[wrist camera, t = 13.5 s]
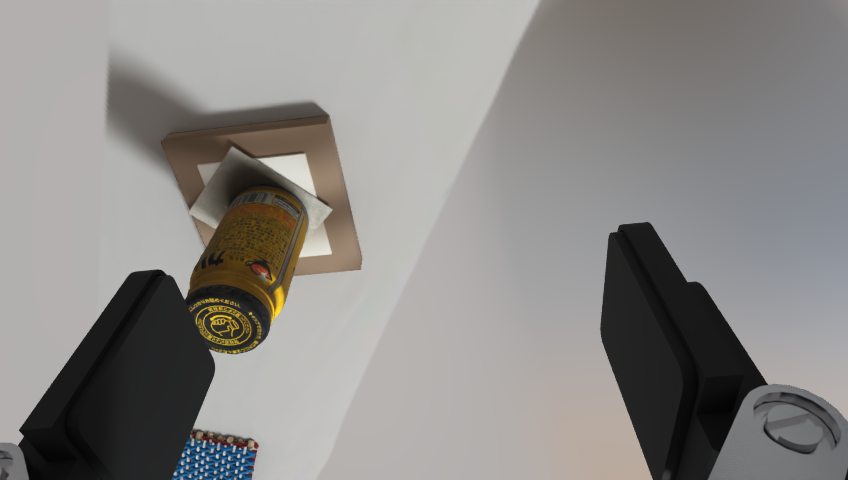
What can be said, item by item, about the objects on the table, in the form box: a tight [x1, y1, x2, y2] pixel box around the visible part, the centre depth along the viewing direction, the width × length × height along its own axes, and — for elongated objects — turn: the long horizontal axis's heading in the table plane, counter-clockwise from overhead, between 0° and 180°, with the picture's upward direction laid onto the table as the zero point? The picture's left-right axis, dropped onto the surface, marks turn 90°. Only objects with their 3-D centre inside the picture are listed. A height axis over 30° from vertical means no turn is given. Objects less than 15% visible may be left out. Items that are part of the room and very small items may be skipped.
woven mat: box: [172, 431, 259, 480], centre depth 63 cm, size 10×11×2 cm
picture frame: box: [161, 116, 362, 276], centre depth 43 cm, size 13×12×2 cm
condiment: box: [185, 146, 333, 354], centre depth 37 cm, size 7×8×12 cm
